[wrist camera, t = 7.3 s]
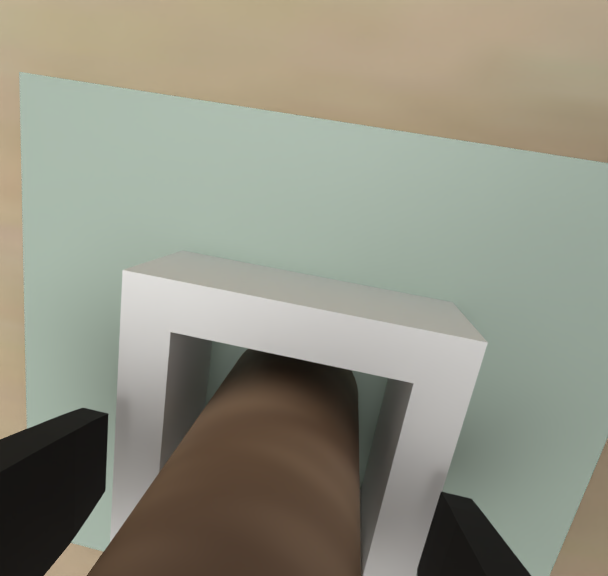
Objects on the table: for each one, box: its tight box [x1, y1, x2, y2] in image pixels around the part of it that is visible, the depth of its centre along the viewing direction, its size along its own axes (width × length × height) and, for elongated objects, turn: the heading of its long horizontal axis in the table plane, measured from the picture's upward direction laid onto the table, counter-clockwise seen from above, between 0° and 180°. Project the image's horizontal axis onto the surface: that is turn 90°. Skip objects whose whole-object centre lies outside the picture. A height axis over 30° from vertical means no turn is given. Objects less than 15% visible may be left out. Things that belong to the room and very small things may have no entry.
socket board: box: [19, 72, 608, 576], centre depth 11 cm, size 18×16×4 cm
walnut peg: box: [87, 348, 361, 576], centre depth 8 cm, size 4×4×8 cm
